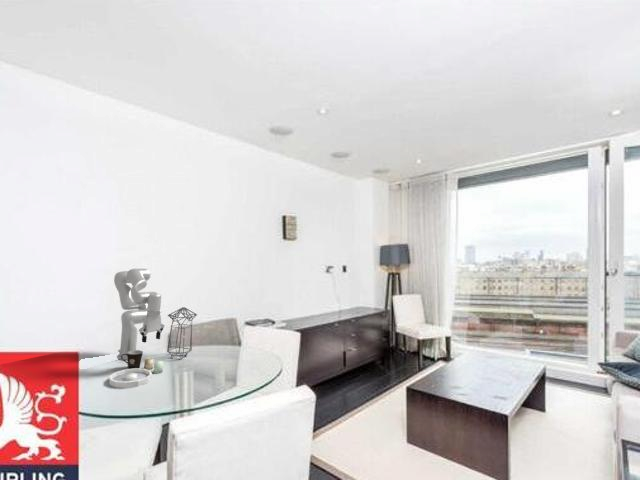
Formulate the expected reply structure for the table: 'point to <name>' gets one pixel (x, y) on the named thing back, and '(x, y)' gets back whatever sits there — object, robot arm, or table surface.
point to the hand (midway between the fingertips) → (151, 340)
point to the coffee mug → (133, 358)
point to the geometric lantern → (181, 330)
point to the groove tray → (130, 378)
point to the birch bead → (148, 363)
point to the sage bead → (158, 367)
